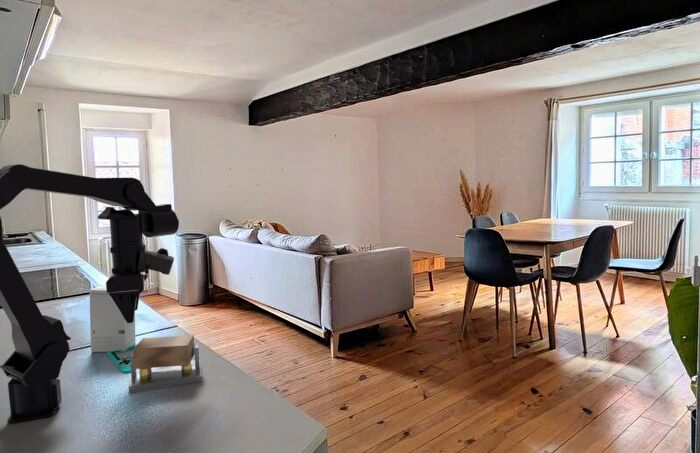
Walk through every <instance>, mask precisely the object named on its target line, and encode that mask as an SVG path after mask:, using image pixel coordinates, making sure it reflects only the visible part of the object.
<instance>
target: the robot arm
mask: <svg viewBox="0 0 700 453" xmlns="http://www.w3.org/2000/svg"><path fill="white" fill-rule="evenodd" d="M24 190H29V191H37V192H43V193H51V194H61V195H68V196H69V195H70V196H75V197H76V196H77V197H84V198H88V199H90V200H94V201H96V202H98V203H102V204H105V205H109V206H106V207H105V209H103V211H102V212H101V213H100V214H99V215H97V219H98V220H108V221H109V227H110V242H111V243H110V244H111V247H110V248H109V252H110V254H112V258H111V259H112V268H111V274H112V275H111V276H109V278H108V279H107V281H106V282H105V285H106V290H107V292H109V295H110V296H111V298H112V299H113V301H114V302H115V304H116V305H117V307H118V309H119V310H120V312H121V314H122V315H123V317H124V319H125V320H126V322H127V323H133V321H134V314H135V315H136V311H138V309H139V301H140V294H141V293H143V292H144V289H145V286H146V284H145V281H146V280H147V279H148V278H149V273H150V271H155V272H157V273H161V274H162V275H166V276H167V275H170V273H171V270H172V267H173V264H174V260H175V257H174V256H173V255H169V251H168V249H166V248H164V247H160V248H159V249H158V250H157V251H156V252H155V251H154V250H153V251H150V250H147V247H146V246H147V245H146V244H145V242H144V238H143V236H144V237H146V238H156V237H157V238H158V237H164V236H172V235H175V234H176V233H177V232H178V230H179V226H180V220H179V218H178V216H177V213H176V212H175V211H174V209H172V208H173V207H172V204H170V203H160V204H157V205H156V204H155V202H154V201H153V200H152V198H151V197H150V196H149V195H148V194H147V192H146V191H145V188H144V185H143V183H142V181H141V180H140V179H138V178H135V177H94V176H85V175H79V174H74V173H67V172H61V171H55V170H48V169H42V168H37V167H31V166H28V165H25V164H21V163H19V164H16V163H15V164H7V165H4V166H2V167H1V168H0V210H2V209H3V208H5V207H6V206H7V205H9V204H10V203H11V202H12V201H14V199H16V197H18V196H19V194H21V193H22V192H23V191H24ZM114 207H121V208H122V209H118V210H117V209H116V208H114ZM133 211H138V212H137V213H134V212H133ZM142 273H145V274H142ZM0 307H1V308H2V310H3V311H4V313H5V315H6V317H7V319H8V320H9V322H10V325H11V339H12V343H13V346H14V348H15V349H14V351H13V352H12V353H11V355H10V356H9V357H8V358H7V360H5V362H4V363H3V364H2V366H1V370H2V371H3V373H4V375H5V376H6V377H7V378H11V379H10V380H9V381H8V383H7V390H8V391H7V392H8V401H9V408H10V409H9V411H10V415H9V417H8V418H7V420H6V423H7V424H11V423H12V424H13V423H18V422H24V421H30V420H35V419H42V418H47V417H52V416H54V413H55V412H56V410H57V408H59V406H60V404H61V403H62V400H63V399H62V390H61V380H60V379H59V377H60V373H61V370H62V366H63V362H64V361H65V360H66V358H67V356H68V354H69V352H70V351H71V350H70V349H71V348H70V344H69V342H68V341H70V340H72V338H71V336H69V335H67V333H66V331H65V329H64V324H63V323H62V320H61V319H60V318H59V319H58V318H55V317H52V316H48V315H43V313H42V312H41V310H40V309H39V306H38V304H37V303H36V301H35V299H34V297H33V295H32V293H31V291H30V289H29V288H28V285H27V284H26V282H25V280H24V277H23V276H22V274H21V272H20V270H19V268H18V267H17V264H16V263H15V261H14V259H13V257H12V255H11V254H10V251H9V250H8V248H7V246H6V244H5V241H4V233H3V220H2V218H1V216H0Z"/></svg>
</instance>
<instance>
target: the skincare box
mask: <svg viewBox="0 0 700 453" xmlns="http://www.w3.org/2000/svg"><path fill="white" fill-rule="evenodd" d="M89 320H90V322H89V325H90V327H89V329H90V351H91V353H108V352H109V351H117V350H122V352H121V353H124V351H125V352H127V351H126V350H127V349H128V348H129V347H130V346H135V345H136V313H135V314H134V321H133V323H127V322H126V320H125V319H124V317H123V315H122V314H121V312H120V310H119V309H118V307H117V305H116V304H115V302H114V301H113V299H112V298H111V296H110V295H109V292H107V290H106V284H104V285H99V286H96V287H93V288H90V289H89Z"/></svg>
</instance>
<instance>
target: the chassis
mask: <svg viewBox="0 0 700 453" xmlns="http://www.w3.org/2000/svg"><path fill="white" fill-rule="evenodd" d="M194 353H195V354H194V359H192V360H191V362H190V363H189V365H184V366H170V367H155V368H141V369H135V367H134V354H131V353H130V354H131V355H130V354H129V356H130V364H131V372H130V379H129V384H128V394H130V393H136V392H137V393H139V392H143V391H150V390H154V389H155V390H156V389H162V388H168V387H173V386H181V385H187V383H188V384H193V382H194V383H198V382H199V383H200V382H203V380H202V379H203V378H202V370H201V369H202V368H201V360H200V356H199V355H200V350H199V344H196V345H195V344H194Z"/></svg>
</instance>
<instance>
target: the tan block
mask: <svg viewBox="0 0 700 453" xmlns="http://www.w3.org/2000/svg"><path fill="white" fill-rule="evenodd" d="M194 336H195V335H194V334H191V335H190V334H189V335H187V334H186V335H173V336H156V337H143V338H141V340H140V341H139V342H138V343H137V344H135V345H136V346H135V345H134V346H135V347H134V349H133V350H132V353H134V367H135V369H141V368H155V367H170V366H184V365H189V363H190V362H191V360H193V358H194V357H195V353H194V345H195V337H194Z"/></svg>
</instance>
